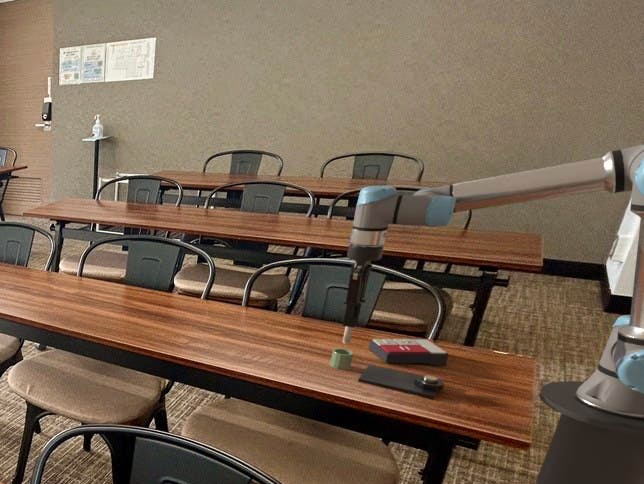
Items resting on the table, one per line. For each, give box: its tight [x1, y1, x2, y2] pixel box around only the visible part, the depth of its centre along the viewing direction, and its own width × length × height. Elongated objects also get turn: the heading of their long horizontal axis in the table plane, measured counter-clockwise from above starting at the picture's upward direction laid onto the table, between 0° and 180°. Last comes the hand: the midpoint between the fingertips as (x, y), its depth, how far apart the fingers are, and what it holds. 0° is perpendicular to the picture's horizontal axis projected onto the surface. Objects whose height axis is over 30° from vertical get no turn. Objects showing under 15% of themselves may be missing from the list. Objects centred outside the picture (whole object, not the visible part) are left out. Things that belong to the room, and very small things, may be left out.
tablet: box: [357, 364, 445, 400], centre depth 157 cm, size 17×12×2 cm
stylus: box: [342, 326, 354, 345], centre depth 164 cm, size 2×2×15 cm
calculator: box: [368, 338, 450, 366], centre depth 171 cm, size 11×4×15 cm
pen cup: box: [329, 348, 354, 371], centre depth 168 cm, size 5×5×5 cm
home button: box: [423, 374, 439, 384], centre depth 153 cm, size 3×3×1 cm
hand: (349, 325), depth 164 cm, fingers closed on stylus, 2 cm apart
